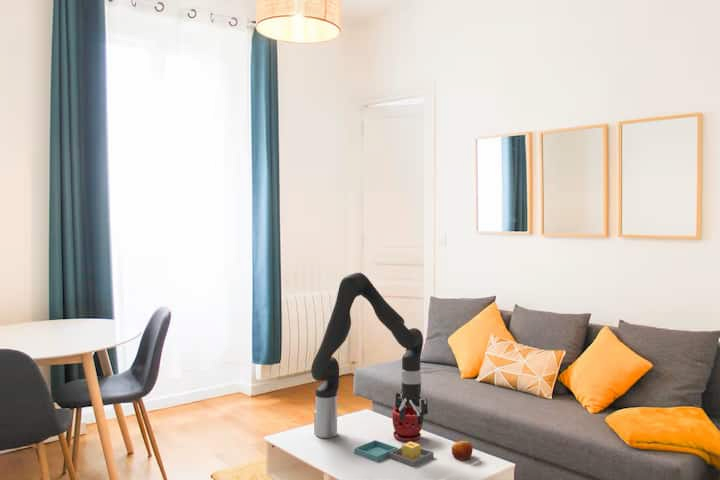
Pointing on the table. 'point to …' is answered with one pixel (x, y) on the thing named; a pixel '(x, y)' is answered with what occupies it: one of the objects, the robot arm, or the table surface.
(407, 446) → the marked block
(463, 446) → the fruit
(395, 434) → the plant pot
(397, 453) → the tray
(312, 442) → the table surface
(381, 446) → the tray
